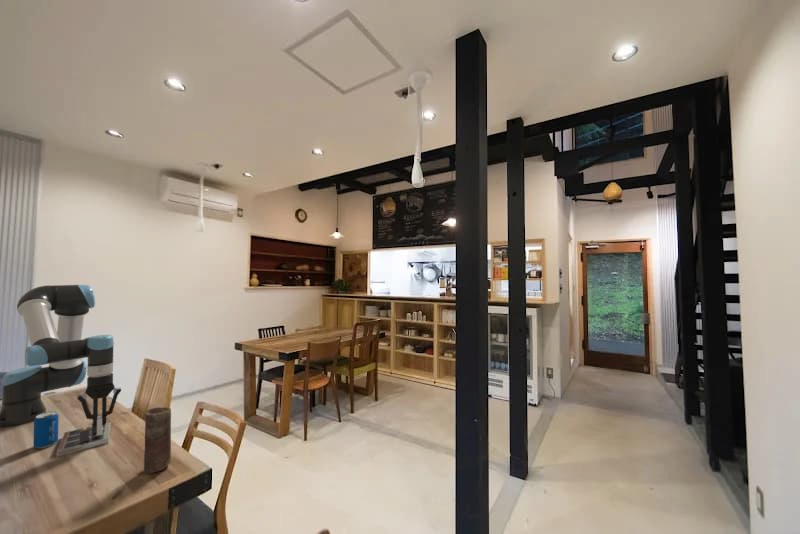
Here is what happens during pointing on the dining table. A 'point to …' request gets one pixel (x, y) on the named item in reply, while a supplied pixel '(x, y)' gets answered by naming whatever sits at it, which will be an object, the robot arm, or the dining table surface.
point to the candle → (157, 439)
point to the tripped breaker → (84, 434)
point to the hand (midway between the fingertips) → (99, 433)
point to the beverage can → (46, 430)
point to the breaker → (94, 429)
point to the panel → (73, 443)
